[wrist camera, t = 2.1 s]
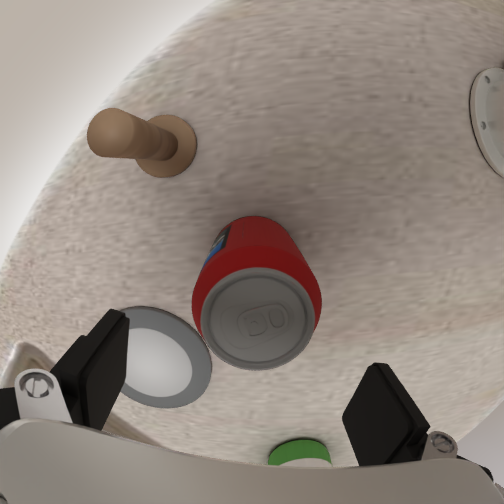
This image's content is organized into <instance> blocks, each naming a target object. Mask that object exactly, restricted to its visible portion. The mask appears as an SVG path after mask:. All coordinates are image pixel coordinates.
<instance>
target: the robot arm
mask: <svg viewBox="0 0 504 504" xmlns="http://www.w3.org/2000/svg"><path fill="white" fill-rule="evenodd" d="M470 109H471V118H472V124H473V128H474V132H475V136H476V139H477V141H478V144H479V147H480V149H481V151H482V153H483V155H484V157H485V159H486V160H487V162H488V163H489V165H490V166H491V167H492V168H493V169H494V171H495V172H496V173H498V174H499V175H500V176H502V177H504V69H501V68H495V67H494V68H490V69H486V70H484V71H482V72H481V73H480V74H479V75H478V76H477V77H476V79H475V81H474V83H473V86H472V90H471V98H470ZM129 325H130V319H129V318H127V317H126V314H125V313H124V312H121V311H117V310H114V309H110V310H109V311H108V312H107V313H106V314H105V315H104V316H103V317H102V319H101V320H100V321H99V322H98V323H97V324H96V326H95V327H94V328H93V329H92V330H91V331H90V333H89V334H88V335H87V336H84V335H81V336H80V337H79V338H78V339H77V340H76V341H75V342H74V344H73V345H72V346H71V347H70V348H69V349H68V351H67V352H66V353H65V354H64V355H63V356H62V358H61V359H60V360H59V361H58V362H57V363H56V365H55V366H54V367H53V368H52V369H51V371H50V372H48V371H45V370H42V369H28V370H25V371H23V372H21V373H20V374H19V375H18V376H17V377H16V379H15V387H12V388H3V389H0V504H504V488H503V487H501V486H500V485H499V484H497V483H495V484H494V483H493V477H492V474H491V472H490V470H489V469H487V468H485V467H482V466H480V465H478V464H476V463H474V462H471V461H469V460H467V459H465V458H463V457H461V456H458V455H457V450H458V448H457V444H456V442H455V440H454V439H453V438H452V437H451V436H449V435H448V434H446V433H444V432H440V431H434V432H431V433H430V434H429V435H428V434H427V433H426V432H427V431H428V429H429V428H430V427H431V426H430V425H429V423H428V422H427V420H426V419H425V417H424V416H423V414H422V413H421V411H420V410H419V408H418V407H417V405H416V404H415V403H414V401H413V400H412V398H411V397H410V395H409V394H408V392H407V391H406V389H405V388H404V386H403V385H402V384H401V382H400V381H399V379H398V378H397V376H396V375H395V374H394V372H393V371H392V369H391V368H390V366H389V365H388V364H385V363H373V364H372V365H371V366H369V367H368V368H367V370H366V372H365V374H364V376H363V378H362V380H361V382H360V383H359V385H358V387H357V389H356V391H355V393H354V395H353V397H352V398H351V400H350V402H349V404H348V406H347V407H346V409H345V411H344V413H343V416H342V421H343V424H344V426H345V429H346V432H347V434H348V437H349V440H350V442H351V445H352V448H353V450H354V453H355V456H356V458H357V461H358V464H359V466H355V467H293V466H276V465H264V464H253V463H244V462H236V461H229V460H222V459H215V458H209V457H204V456H198V455H193V454H188V453H183V452H179V451H174V450H170V449H165V448H161V447H157V446H153V445H149V444H145V443H142V442H138V441H134V440H131V439H127V438H124V437H120V436H117V435H113V434H110V433H107V432H103V431H101V430H102V428H103V426H104V424H105V422H106V420H107V418H108V416H109V413H110V411H111V409H112V407H113V405H114V403H115V401H116V399H117V397H118V395H119V393H120V391H121V389H122V387H123V385H124V382H125V379H126V370H127V352H128V337H129ZM6 501H7V502H8V503H7V502H6Z"/></svg>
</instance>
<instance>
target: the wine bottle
mask: <svg viewBox="0 0 504 504" xmlns="http://www.w3.org/2000/svg"><path fill="white" fill-rule="evenodd" d="M268 465H276V466H293V467H332V463H331V459H330V455H329V453H328V451H327V449H326V447H324V446H323V445H322V444H321V443H318V442H316V441H312V440H296V441H291V442H288V443H285V444H283V445H281V446H279V447H278V448H276V449H275V450H274V451H273V452H272V453H271V455H270V457H269V460H268Z"/></svg>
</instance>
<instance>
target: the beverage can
mask: <svg viewBox="0 0 504 504" xmlns="http://www.w3.org/2000/svg"><path fill="white" fill-rule="evenodd" d="M321 307H322V298H321V292H320V288H319V285H318V282H317V280H316V278H315V276H314V274H313V273H312V271H311V269H310V267H309V266H308V264H307V262H306V260H305V259H304V257H303V256H302V254H301V252H300V251H299V249H298V248H297V246H296V244H295V243H294V241H293V240H292V238H291V237H290V236H289V234H288V233H287V232H286V230H285V229H284V228H283V227H282V226H280V225H279V224H278V223H276V222H274V221H272V220H270V219H268V218H264V217H259V216H249V217H243V218H240V219H237V220H235V221H233V222H231V223H230V224H228V225H227V226H226V227H225V228H224V229H223V230H222V231H221V232H220V233H219V235H218V236H217V238H216V240H215V242H214V244H213V246H212V248H211V250H210V252H209V254H208V256H207V259H206V261H205V263H204V265H203V268H202V270H201V272H200V275H199V277H198V280H197V282H196V285H195V288H194V291H193V295H192V314H193V318H194V322H195V324H196V327H197V329H198V331H199V333H200V334H201V336H202V337H203V339H204V340H205V341H206V343H207V345H208V347H209V348H210V349H211V350H212V352H213V353H214V354H215V355H216V356H217V357H219V358H220V359H221V360H223V361H224V362H226V363H228V364H230V365H232V366H235V367H237V368H241V369H245V370H255V371H256V370H268V369H273V368H276V367H279V366H282V365H284V364H286V363H288V362H290V361H291V360H293V359H294V358H295V357H297V356H298V355H299V354H300V353H301V352H302V351H303V350H304V349H305V347H306V346H307V344H308V343H309V341H310V339H311V337H312V334H313V332H314V330H315V328H316V327H317V324H318V321H319V318H320V314H321Z"/></svg>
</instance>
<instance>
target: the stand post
mask: <svg viewBox="0 0 504 504" xmlns="http://www.w3.org/2000/svg"><path fill="white" fill-rule="evenodd" d="M87 141H88V145H89V147H90V149H91V150H92V151H93V152H94V153H95V154H96V155H98V156H101V157H112V158H129V159H136V161H137V163H138V165H139V166H140V168H141V169H142V170H143V171H145V172H146V173H148V174H149V175H152V176H155V177H171V176H175V175H177V174H179V173H181V172H183V171H184V170H185V169H186V168H187V167H188V166H189V165H190V164H191V162H192V161H193V159H194V157H195V154H196V149H197V141H196V136H195V133H194V131H193V130H192V128H191V127H190V126H189V125H188V124H187V123H186V122H185V121H183V120H182V119H180V118H179V117H176V116H173V115H160V116H156V117H154V118H152V119H150V120H148V121H145V120H143V119H141V118H138V117H136V116H134V115H131V114H129V113H127V112H124V111H122V110H120V109H117V108H108V109H105V110H102V111H101V112H99V113H98V114H97V115H96V116H95V117H94V118H93V119H92V121H91V123H90V125H89V127H88V131H87Z"/></svg>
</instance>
